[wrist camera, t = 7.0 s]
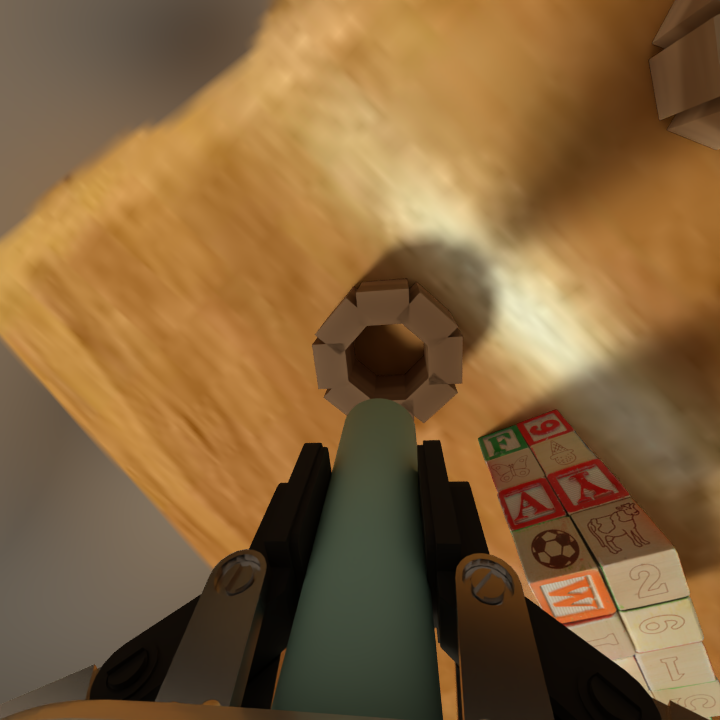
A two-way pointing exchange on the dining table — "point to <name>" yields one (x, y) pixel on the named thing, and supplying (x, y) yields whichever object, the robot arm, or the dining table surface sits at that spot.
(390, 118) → the dining table surface
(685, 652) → the stack of blocks
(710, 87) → the bead
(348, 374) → the bead
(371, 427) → the teal cylinder white end
